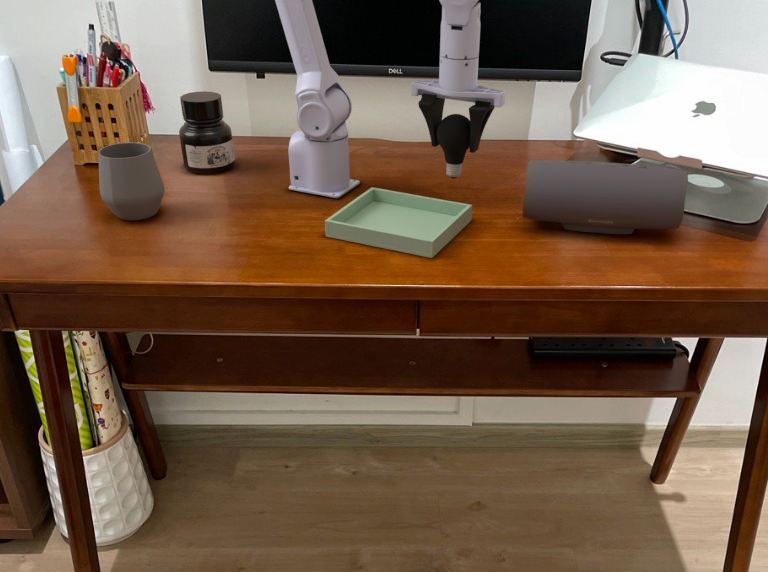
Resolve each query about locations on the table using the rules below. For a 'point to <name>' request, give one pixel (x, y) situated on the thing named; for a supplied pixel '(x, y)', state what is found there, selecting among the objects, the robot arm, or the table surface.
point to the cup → (130, 180)
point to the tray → (399, 221)
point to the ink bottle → (205, 134)
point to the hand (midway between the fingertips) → (455, 147)
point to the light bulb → (454, 142)
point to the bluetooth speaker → (605, 196)
